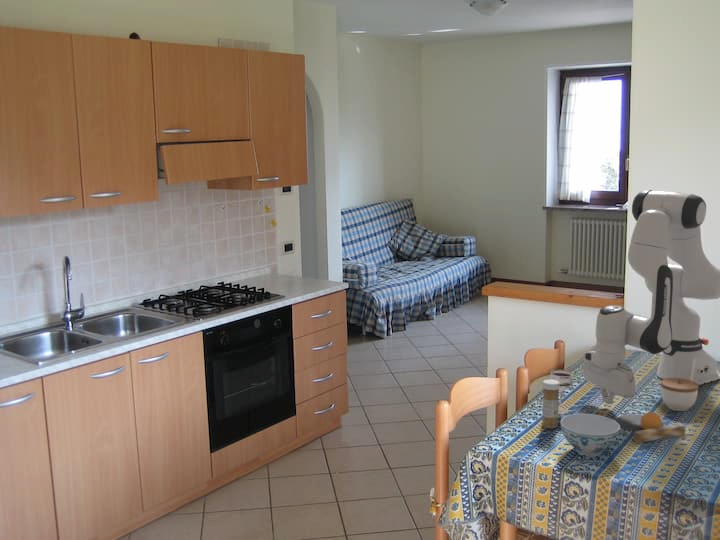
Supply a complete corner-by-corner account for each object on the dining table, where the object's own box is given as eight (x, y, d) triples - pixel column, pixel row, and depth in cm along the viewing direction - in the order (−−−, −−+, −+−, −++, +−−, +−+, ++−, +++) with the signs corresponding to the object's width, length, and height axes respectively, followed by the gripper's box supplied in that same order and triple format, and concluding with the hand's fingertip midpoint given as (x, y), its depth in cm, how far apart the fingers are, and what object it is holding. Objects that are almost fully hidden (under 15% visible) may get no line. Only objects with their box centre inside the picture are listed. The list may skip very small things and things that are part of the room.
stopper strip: (679, 431, 217) (680, 423, 217) (684, 434, 215) (685, 425, 215) (633, 440, 212) (634, 431, 211) (638, 442, 210) (639, 434, 209)
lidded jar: (700, 414, 230) (702, 384, 229) (662, 412, 232) (664, 382, 231) (692, 402, 241) (694, 373, 239) (656, 400, 243) (658, 371, 241)
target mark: (641, 412, 232) (641, 412, 232) (673, 427, 220) (673, 427, 220) (605, 418, 228) (605, 418, 227) (636, 434, 216) (636, 433, 216)
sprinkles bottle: (550, 422, 225) (552, 377, 223) (561, 427, 221) (563, 382, 219) (538, 424, 223) (539, 380, 221) (548, 430, 219) (550, 384, 217)
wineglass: (575, 410, 234) (577, 372, 232) (564, 416, 229) (566, 378, 227) (555, 405, 239) (557, 368, 237) (544, 411, 234) (545, 373, 232)
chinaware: (606, 439, 212) (608, 413, 211) (627, 462, 197) (628, 434, 196) (552, 441, 212) (553, 414, 210) (569, 464, 197) (570, 435, 196)
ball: (655, 406, 219) (667, 419, 214) (651, 420, 222) (663, 433, 217) (638, 410, 217) (650, 423, 213) (635, 424, 220) (646, 438, 216)
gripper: (641, 367, 226) (639, 412, 228) (596, 349, 244) (594, 391, 247) (624, 369, 223) (621, 415, 226) (580, 351, 242) (578, 394, 245)
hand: (607, 402), depth 236 cm, fingers closed
